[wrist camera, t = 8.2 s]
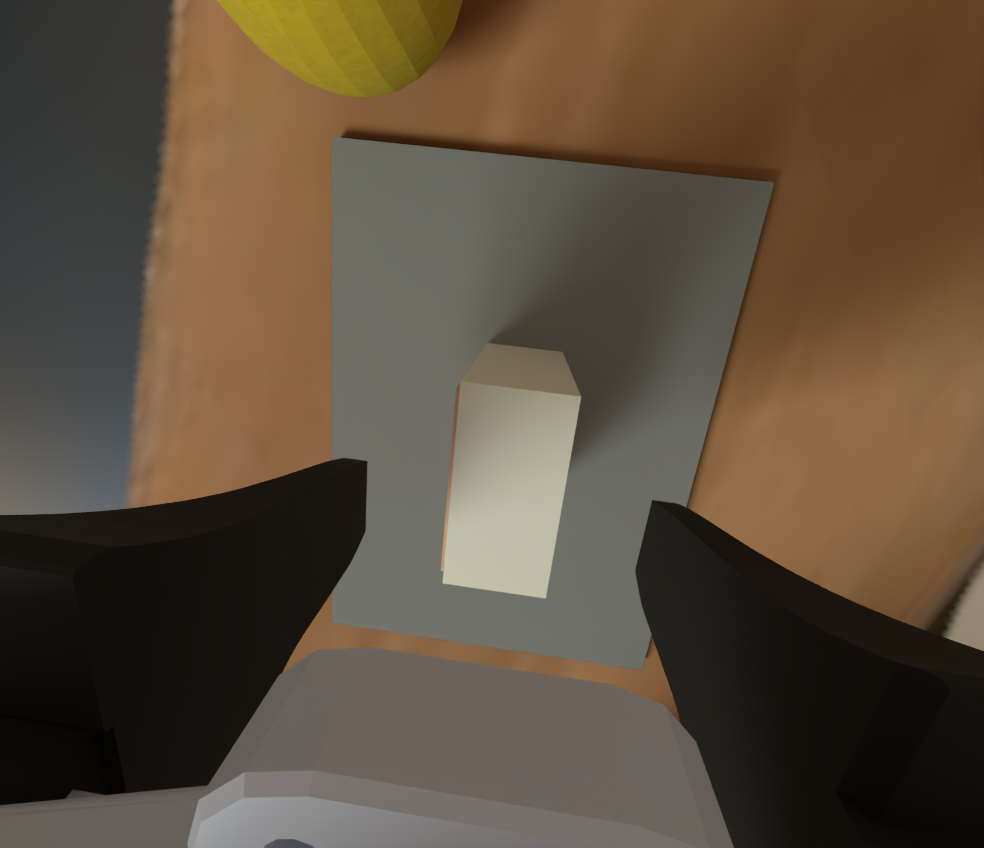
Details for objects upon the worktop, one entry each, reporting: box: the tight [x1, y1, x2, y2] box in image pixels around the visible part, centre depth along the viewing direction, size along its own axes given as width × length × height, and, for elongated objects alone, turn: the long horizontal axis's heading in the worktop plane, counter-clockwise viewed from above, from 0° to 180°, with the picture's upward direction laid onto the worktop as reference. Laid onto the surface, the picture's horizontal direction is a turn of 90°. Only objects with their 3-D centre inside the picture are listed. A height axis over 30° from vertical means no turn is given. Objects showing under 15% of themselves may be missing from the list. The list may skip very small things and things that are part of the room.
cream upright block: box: [441, 343, 581, 598], centre depth 13 cm, size 3×5×6 cm, turn 174°
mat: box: [332, 137, 775, 670], centre depth 16 cm, size 18×13×1 cm
